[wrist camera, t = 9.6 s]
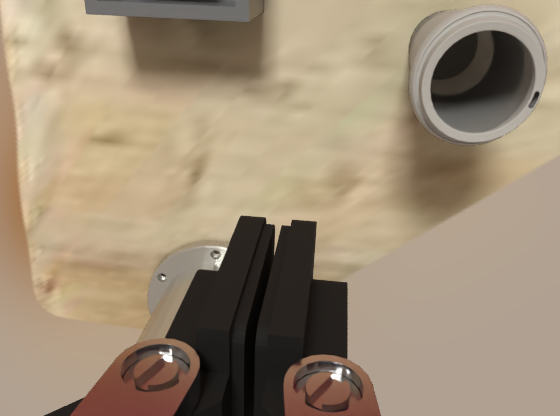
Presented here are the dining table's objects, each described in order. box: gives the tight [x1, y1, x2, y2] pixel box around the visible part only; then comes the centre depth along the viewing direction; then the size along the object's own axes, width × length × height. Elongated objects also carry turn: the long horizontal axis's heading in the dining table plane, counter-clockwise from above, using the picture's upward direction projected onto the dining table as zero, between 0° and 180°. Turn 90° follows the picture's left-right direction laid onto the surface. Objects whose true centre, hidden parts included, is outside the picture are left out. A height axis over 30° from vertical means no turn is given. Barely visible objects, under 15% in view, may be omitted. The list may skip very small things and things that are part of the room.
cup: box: [409, 5, 547, 145], centre depth 32 cm, size 7×7×12 cm
